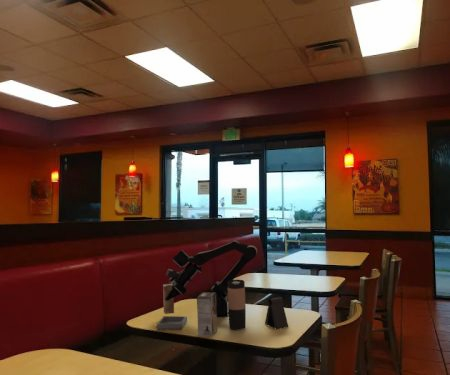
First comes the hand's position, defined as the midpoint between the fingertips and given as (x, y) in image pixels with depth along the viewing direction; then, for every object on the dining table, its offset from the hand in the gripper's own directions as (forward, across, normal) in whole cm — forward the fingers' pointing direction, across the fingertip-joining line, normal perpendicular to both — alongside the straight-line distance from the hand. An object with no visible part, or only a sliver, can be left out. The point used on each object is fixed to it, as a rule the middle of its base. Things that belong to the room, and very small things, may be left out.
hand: (165, 298), depth 183 cm
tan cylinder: (+4, 0, +6) cm, 7 cm away
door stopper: (-25, +29, +38) cm, 54 cm away
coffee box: (-3, +28, +17) cm, 32 cm away
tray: (+6, +12, +7) cm, 15 cm away
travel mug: (-13, +26, +26) cm, 39 cm away
